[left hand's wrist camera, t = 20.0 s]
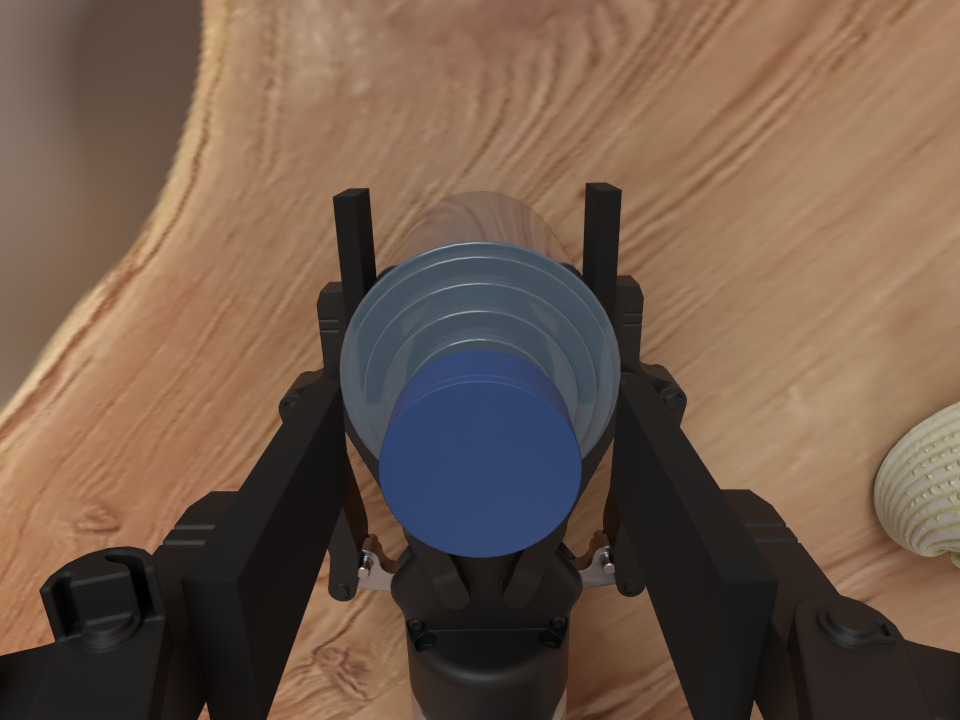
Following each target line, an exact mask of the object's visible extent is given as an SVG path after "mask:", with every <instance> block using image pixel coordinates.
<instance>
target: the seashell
mask: <svg viewBox="0 0 960 720" xmlns="http://www.w3.org/2000/svg"><path fill="white" fill-rule="evenodd" d="M874 505H875V510H876V514H877V517H878V519H879V522H880V523H881V525H882V527H883V529H884V530H885V531H886V533H887V534H888V536H889V537H890V538H891V539H892V540H894V541H895V542H896V543H898V544H899V545H900V546H902V547H903V548H905V549H907V550H909V551H911V552H914V553H916V554H918V555H921V556H925V557H934V556H938V555H941V554H943V553H945V552H949V554H950V559H951V562H952V563H953V564H954V565H955V566H956V567H958V568H960V401H959V402H957V403H955V404H953V405H951V406H948V407H946V408H944V409H942V410H941V411H939V412H937V413H935V414H934V415H932V416H930V417H929V418H927V419H925V420H924V421H922V422H921V423H919V424H918V425H916V426H915V427H913V428H912V429H911V430H910V431H909V432H908V433H907V434H905V435H904V436H903V437H902V438H901V439H900V440H899V441H898V442H897V443H896V445H895V446H894V447H893V448H892V449H891V450H890V452H889V453H888V455H887V457H886V458H885V460H884V461H883V463H882V465H881V467H880V469H879V472H878V474H877V477H876V481H875V486H874Z"/></svg>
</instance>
